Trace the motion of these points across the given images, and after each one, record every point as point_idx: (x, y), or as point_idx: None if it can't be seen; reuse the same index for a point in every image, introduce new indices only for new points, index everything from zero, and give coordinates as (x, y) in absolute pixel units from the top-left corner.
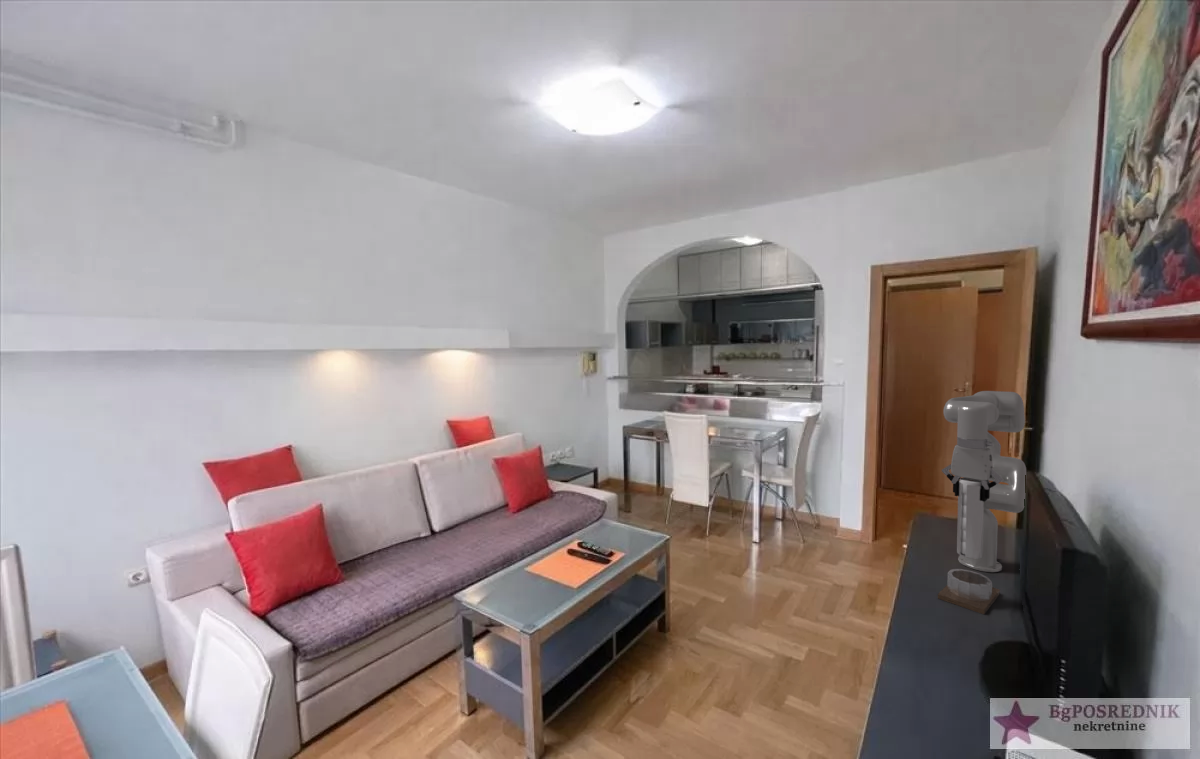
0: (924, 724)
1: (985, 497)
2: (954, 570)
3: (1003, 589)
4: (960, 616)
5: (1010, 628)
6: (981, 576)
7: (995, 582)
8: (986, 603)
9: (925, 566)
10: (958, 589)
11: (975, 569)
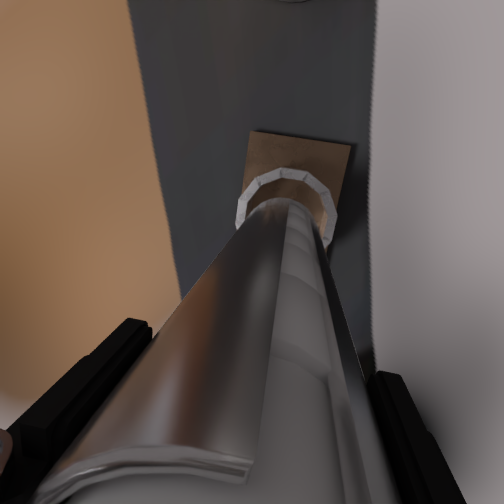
0: None
1: None
2: (247, 197)
3: (358, 105)
4: None
5: (361, 309)
6: (312, 187)
7: (340, 66)
8: None
9: (175, 86)
10: None
11: (290, 1)
